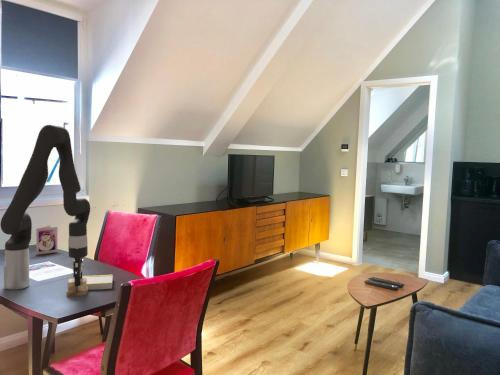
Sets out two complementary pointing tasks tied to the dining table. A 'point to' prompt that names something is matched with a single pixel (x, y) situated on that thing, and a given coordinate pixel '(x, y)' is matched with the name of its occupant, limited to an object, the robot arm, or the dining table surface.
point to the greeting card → (46, 240)
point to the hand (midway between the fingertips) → (78, 282)
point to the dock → (99, 282)
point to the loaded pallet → (77, 287)
